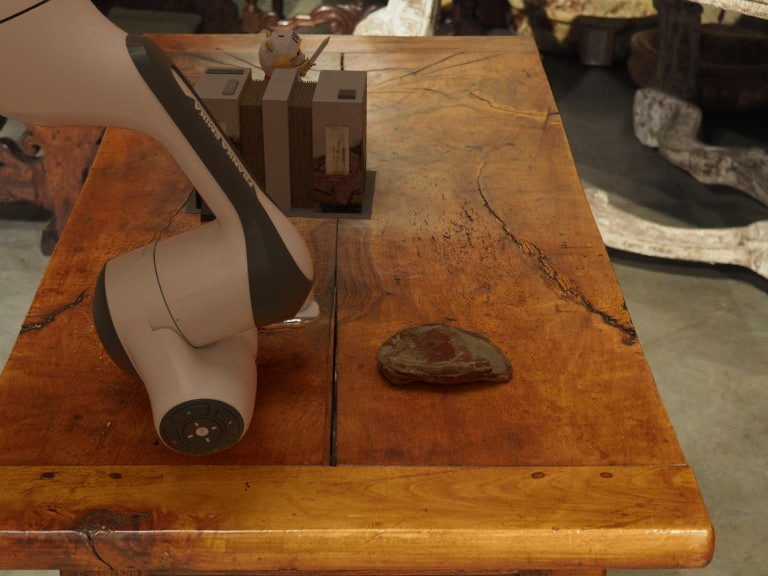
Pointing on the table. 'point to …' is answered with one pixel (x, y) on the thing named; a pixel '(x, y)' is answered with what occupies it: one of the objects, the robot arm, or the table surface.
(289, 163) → the bookend
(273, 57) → the figurine
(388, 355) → the stone
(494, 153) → the table surface
